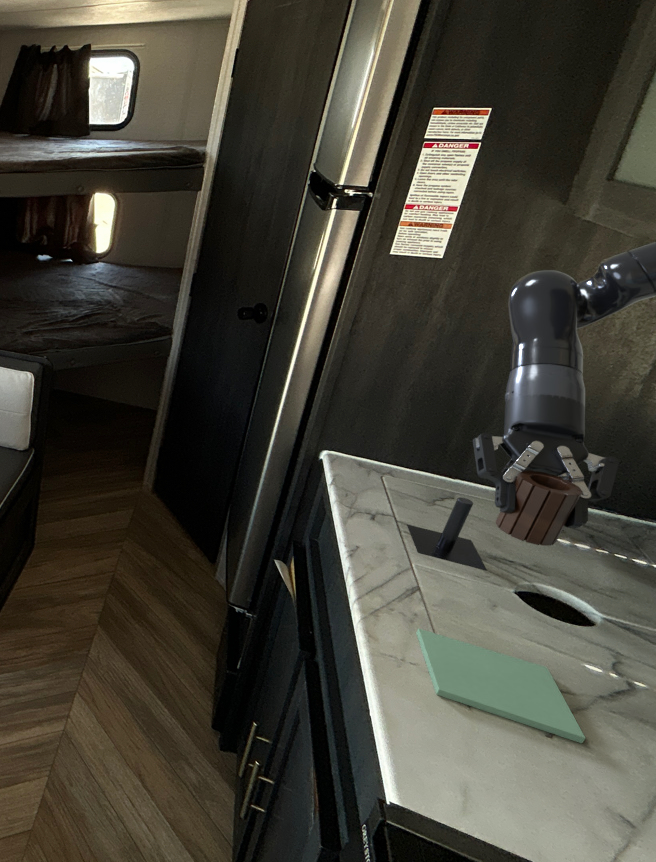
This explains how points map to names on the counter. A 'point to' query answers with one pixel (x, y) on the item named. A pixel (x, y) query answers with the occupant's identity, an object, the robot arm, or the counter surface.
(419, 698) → the counter surface
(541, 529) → the brown grooved hollow cylinder
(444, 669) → the mat
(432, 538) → the peg stand
